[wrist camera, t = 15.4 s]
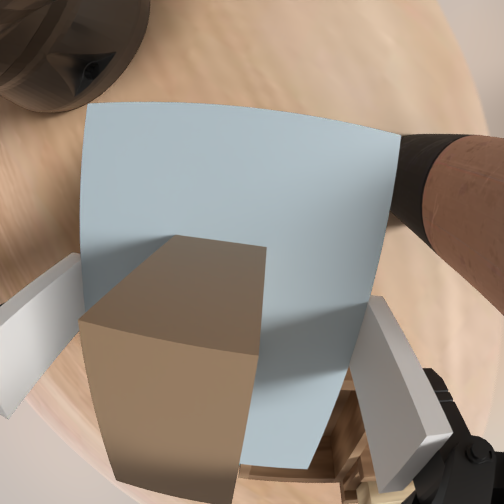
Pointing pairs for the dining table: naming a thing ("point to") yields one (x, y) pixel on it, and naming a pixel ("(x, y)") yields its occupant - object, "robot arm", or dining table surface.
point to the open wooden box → (331, 451)
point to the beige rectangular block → (381, 494)
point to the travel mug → (456, 203)
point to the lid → (223, 283)
